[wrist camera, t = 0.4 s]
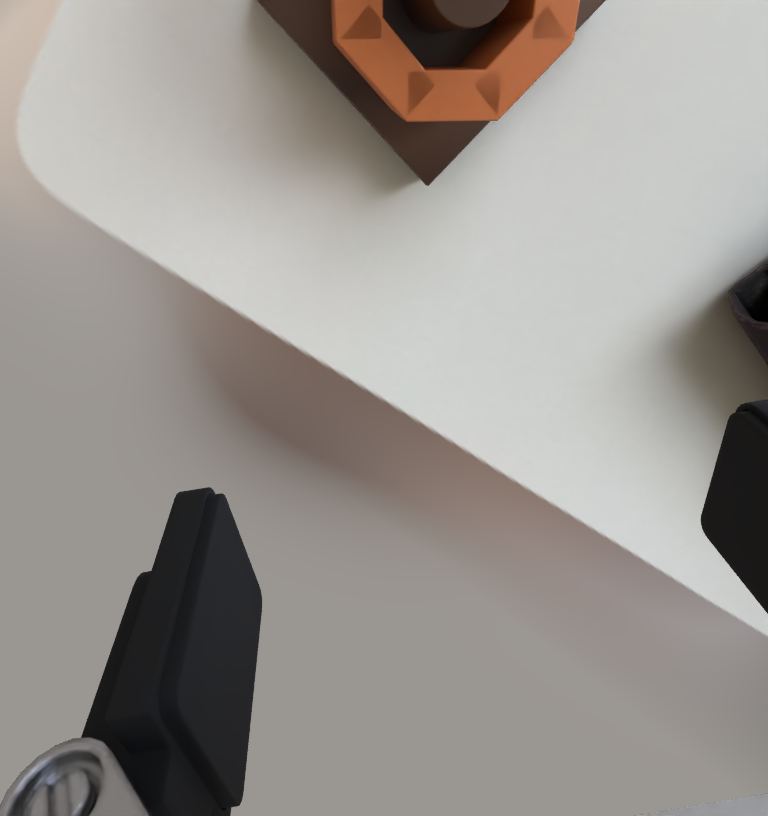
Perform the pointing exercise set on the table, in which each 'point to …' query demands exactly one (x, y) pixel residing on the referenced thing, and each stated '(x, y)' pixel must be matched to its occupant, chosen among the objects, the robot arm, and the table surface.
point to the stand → (430, 44)
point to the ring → (474, 77)
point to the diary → (753, 308)
